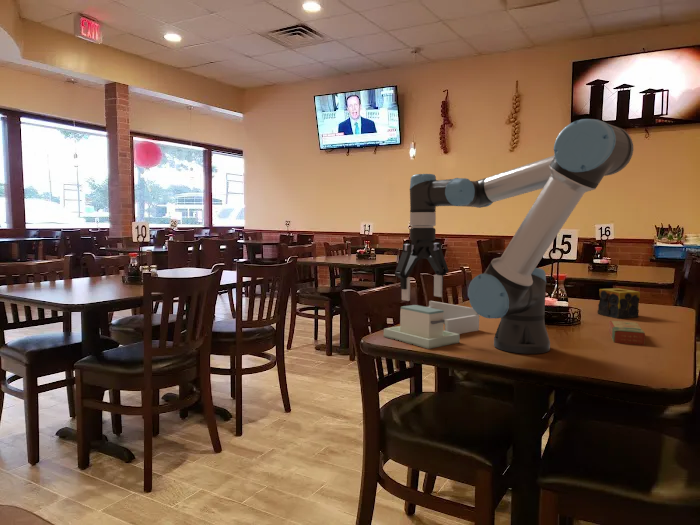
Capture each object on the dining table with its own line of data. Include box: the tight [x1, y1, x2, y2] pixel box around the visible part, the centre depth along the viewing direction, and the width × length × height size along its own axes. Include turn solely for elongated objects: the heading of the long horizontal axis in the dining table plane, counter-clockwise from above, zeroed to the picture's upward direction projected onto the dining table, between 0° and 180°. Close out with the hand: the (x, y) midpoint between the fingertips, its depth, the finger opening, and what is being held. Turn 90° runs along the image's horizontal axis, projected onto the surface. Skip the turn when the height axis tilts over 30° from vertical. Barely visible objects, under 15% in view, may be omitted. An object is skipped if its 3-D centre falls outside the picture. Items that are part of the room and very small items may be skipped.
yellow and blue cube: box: [597, 287, 641, 320], centre depth 199 cm, size 10×10×10 cm
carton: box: [608, 320, 646, 346], centre depth 161 cm, size 8×16×4 cm, turn 159°
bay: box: [399, 300, 480, 335], centre depth 175 cm, size 21×15×7 cm
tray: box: [383, 325, 461, 350], centre depth 157 cm, size 19×13×2 cm
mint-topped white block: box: [399, 304, 445, 339], centre depth 156 cm, size 13×6×9 cm, turn 37°
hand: (422, 298), depth 156 cm, fingers open, 13 cm apart
